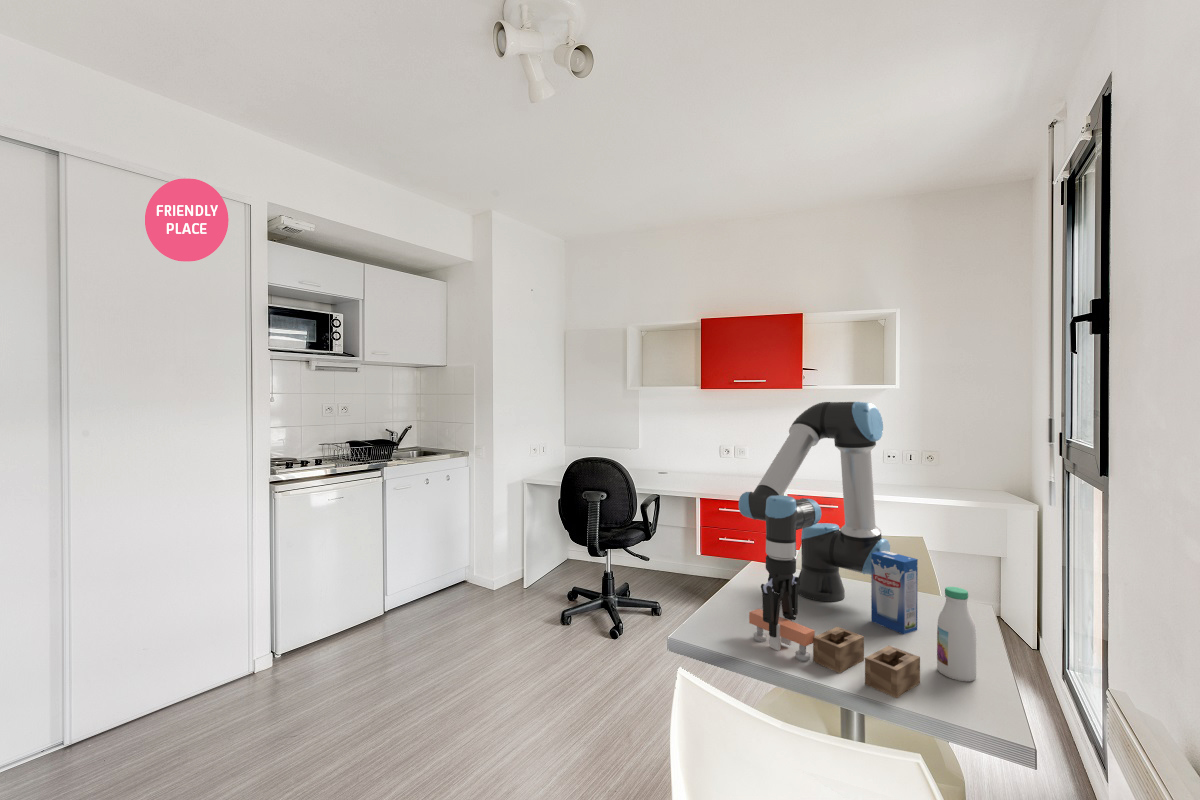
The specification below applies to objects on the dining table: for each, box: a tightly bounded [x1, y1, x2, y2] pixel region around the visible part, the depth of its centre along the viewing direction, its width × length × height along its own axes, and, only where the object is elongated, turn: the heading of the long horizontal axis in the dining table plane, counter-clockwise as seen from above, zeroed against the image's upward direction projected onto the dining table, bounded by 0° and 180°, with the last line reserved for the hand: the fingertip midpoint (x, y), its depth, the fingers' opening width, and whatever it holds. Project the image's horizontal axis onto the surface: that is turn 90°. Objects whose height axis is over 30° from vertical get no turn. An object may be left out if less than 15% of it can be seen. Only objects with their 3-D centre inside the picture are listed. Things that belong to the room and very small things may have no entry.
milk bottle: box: [936, 586, 977, 682], centre depth 126 cm, size 8×8×20 cm
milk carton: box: [870, 551, 919, 635], centre depth 153 cm, size 10×6×20 cm, turn 27°
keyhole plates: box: [812, 626, 921, 699], centre depth 126 cm, size 11×20×6 cm, turn 35°
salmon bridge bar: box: [748, 608, 816, 663], centre depth 138 cm, size 17×4×7 cm, turn 35°
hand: (780, 645), depth 138 cm, fingers closed on salmon bridge bar, 4 cm apart
